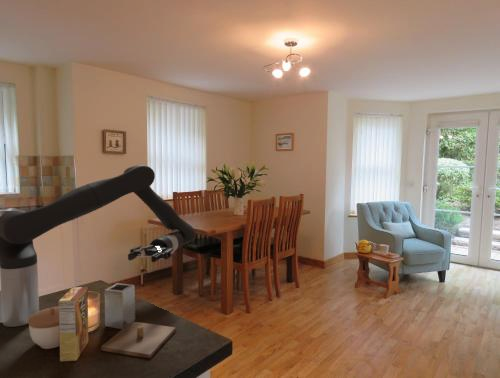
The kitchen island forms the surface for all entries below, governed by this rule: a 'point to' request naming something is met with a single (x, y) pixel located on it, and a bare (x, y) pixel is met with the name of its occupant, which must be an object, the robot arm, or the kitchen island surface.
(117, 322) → the steel sleeve
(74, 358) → the candy box
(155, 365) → the kitchen island surface
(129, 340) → the hub plate
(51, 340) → the lidded jar
